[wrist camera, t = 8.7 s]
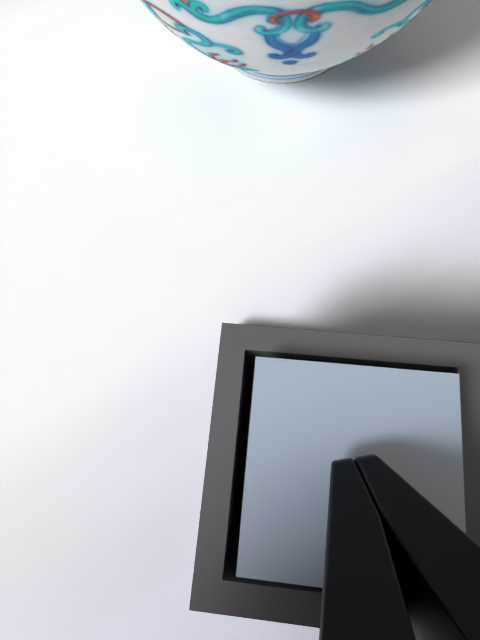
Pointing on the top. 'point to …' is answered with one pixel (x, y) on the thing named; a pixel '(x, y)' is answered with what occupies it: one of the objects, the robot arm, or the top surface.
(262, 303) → the top surface
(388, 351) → the button console
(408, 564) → the robot arm
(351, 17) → the chinaware
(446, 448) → the slate button
